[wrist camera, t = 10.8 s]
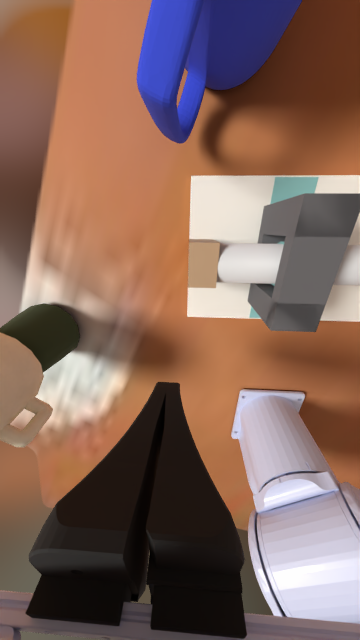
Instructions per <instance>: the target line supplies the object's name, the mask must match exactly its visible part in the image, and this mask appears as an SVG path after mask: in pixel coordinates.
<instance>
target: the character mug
mask: <svg viewBox="0 0 360 640" xmlns="http://www.w3.org/2000/svg"><path fill="white" fill-rule="evenodd" d="M79 338H80V336H79V330H78V325H77V324H76V322H75V321H74V320H73V318H72V317H71V315H70V314H69V313H67V312H66V311H64V310H63V309H61V308H60V307H58V306H53V305H48V304H40V305H35V306H31V307H29V308H28V309H26V310H25V311H23V312H21V313H20V314H18V315H17V316H16V317H14V318H13V319H12V320H10V321H9V322H8V323H6V324H5V325H4V326H2V327H1V328H0V440H1V441H4V442H6V443H8V444H10V445H13V446H15V447H25V446H26V445H28V444H29V443H30V442H31V441H32V440H33V439H34V437H35V436H36V435H37V433H38V432H39V431H40V429H41V428H42V427H43V425H44V424H45V423H46V421H47V420H48V419H49V417H50V416H51V414H52V411H53V409H52V407H51V406H50V405H49V404H47V403H45V402H43V401H41V400H39V399H37V398H36V397H35V396H36V395H37V394H38V391H39V388H40V386H41V383H42V380H43V377H44V376H43V372H44V371H46V370H47V369H48V368H50V367H51V366H53V365H54V364H55V363H57V362H58V361H60V360H61V359H62V358H63V357H65V356H66V355H67V354H68V353H70V352H71V351H72V350H73V349H75V348H76V347H77V345H78V342H79ZM23 409H26V410H28V411H31V412H33V413H35V416H34V417H33V418H32V419H31V421H30V422H29V423H28V424H27V425H26V427H25V428H24V429H23V430H20V429H18V428H16V427H14V426H12V425H10V423H11V422H12V421H13V420H14V419H15V418H16V417H17V416H18V415H19V413H20V412H21V411H22V410H23Z"/></svg>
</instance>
